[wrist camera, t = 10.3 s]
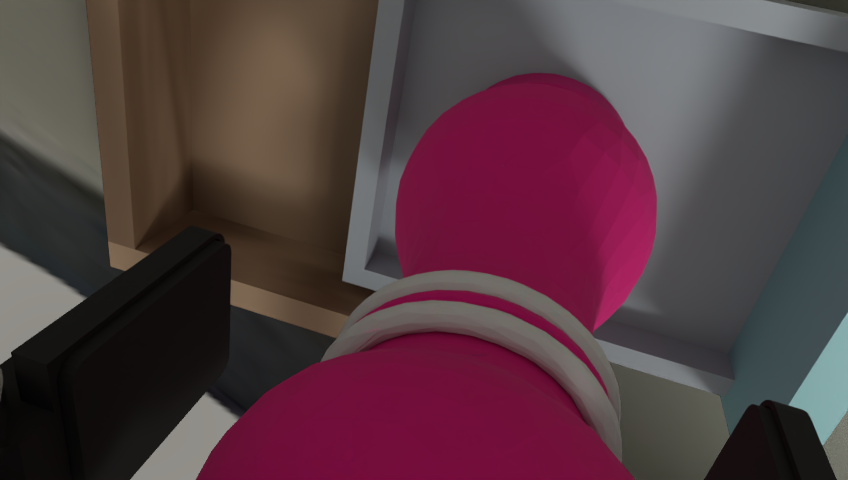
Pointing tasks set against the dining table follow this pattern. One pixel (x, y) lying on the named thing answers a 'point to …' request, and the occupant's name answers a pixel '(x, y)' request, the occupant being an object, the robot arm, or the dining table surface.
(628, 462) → the dining table surface
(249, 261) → the cubby
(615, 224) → the pepper mill
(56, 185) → the dining table surface
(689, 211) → the drawer
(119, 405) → the robot arm
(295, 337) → the dining table surface
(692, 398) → the dining table surface
